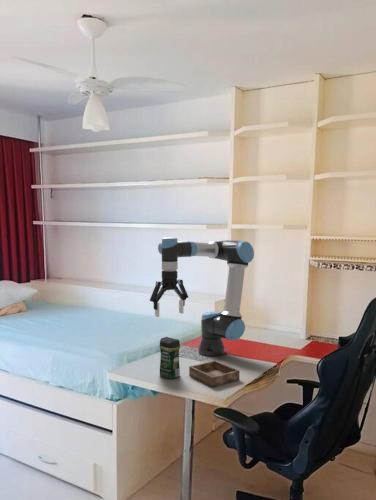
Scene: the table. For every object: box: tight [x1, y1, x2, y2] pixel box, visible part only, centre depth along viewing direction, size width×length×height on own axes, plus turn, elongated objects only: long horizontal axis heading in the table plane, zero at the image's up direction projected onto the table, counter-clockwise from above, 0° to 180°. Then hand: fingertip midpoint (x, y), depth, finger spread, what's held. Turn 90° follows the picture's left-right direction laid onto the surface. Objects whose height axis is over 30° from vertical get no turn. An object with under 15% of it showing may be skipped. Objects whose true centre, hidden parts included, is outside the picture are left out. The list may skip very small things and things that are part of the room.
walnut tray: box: [188, 360, 240, 389], centre depth 192 cm, size 16×18×4 cm
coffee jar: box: [159, 336, 181, 380], centre depth 194 cm, size 10×8×19 cm
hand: (169, 314), depth 193 cm, fingers open, 13 cm apart
